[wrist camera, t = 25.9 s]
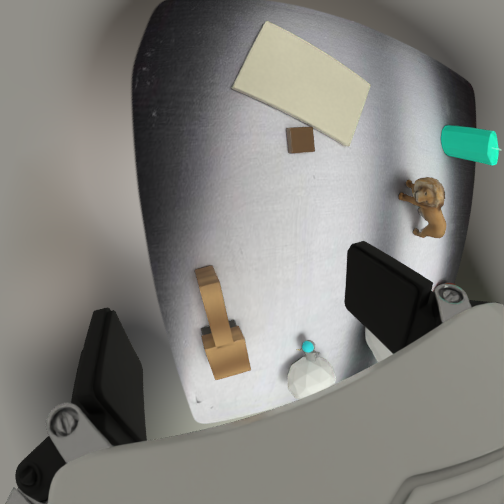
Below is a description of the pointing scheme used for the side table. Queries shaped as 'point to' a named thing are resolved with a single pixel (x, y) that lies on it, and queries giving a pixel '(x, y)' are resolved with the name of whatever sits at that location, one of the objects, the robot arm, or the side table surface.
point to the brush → (220, 330)
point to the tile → (303, 83)
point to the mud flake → (300, 139)
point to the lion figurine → (428, 205)
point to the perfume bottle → (309, 373)
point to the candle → (470, 144)
